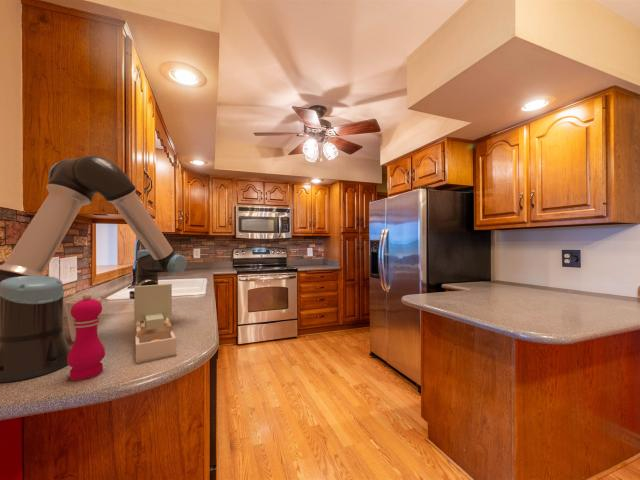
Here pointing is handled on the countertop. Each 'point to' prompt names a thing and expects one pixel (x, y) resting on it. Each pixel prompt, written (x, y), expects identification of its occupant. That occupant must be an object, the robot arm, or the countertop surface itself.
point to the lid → (153, 304)
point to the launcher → (142, 329)
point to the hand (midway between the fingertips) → (153, 300)
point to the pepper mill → (86, 340)
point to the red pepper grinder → (70, 319)
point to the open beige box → (155, 346)
